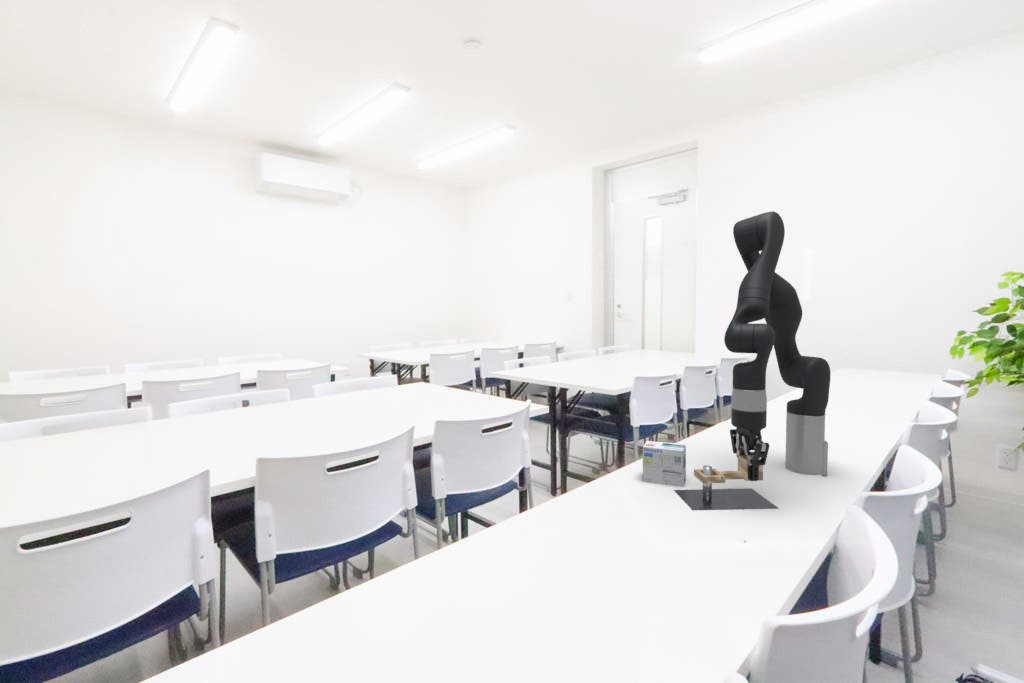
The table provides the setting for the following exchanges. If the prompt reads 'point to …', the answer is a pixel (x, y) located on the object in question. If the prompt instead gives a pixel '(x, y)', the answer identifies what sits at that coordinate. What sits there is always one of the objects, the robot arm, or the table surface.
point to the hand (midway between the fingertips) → (748, 476)
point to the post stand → (723, 497)
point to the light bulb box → (664, 463)
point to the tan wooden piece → (728, 472)
